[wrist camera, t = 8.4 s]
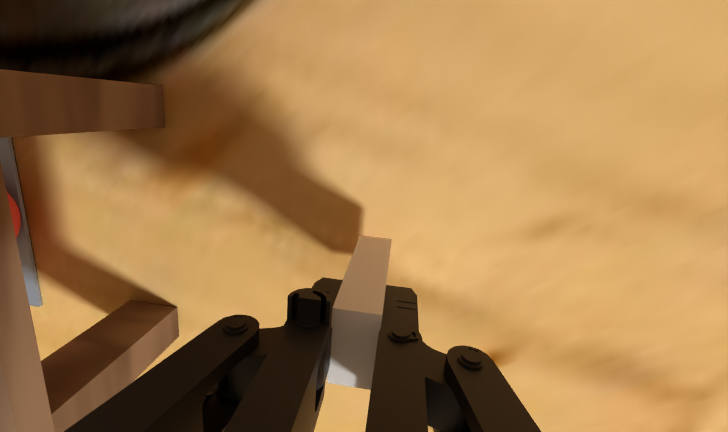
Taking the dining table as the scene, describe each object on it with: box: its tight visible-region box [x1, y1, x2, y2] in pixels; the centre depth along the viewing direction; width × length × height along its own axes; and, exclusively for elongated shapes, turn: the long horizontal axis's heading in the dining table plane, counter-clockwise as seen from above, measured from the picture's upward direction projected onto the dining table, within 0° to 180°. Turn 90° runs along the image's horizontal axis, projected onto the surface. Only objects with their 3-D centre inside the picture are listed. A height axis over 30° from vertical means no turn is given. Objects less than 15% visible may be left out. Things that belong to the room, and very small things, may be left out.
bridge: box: [0, 69, 179, 432], centre depth 16 cm, size 3×14×9 cm, turn 175°
